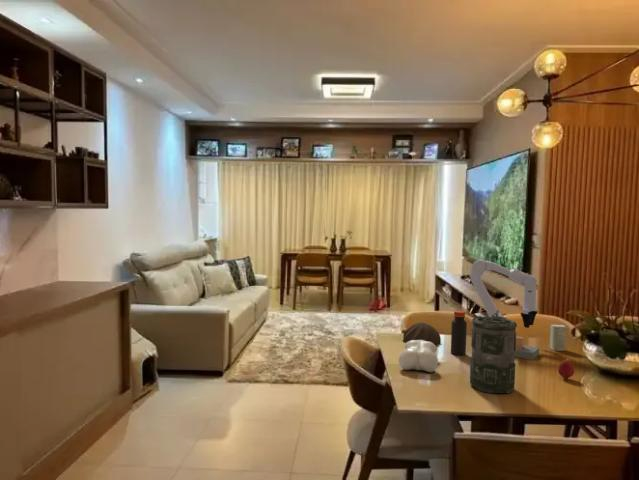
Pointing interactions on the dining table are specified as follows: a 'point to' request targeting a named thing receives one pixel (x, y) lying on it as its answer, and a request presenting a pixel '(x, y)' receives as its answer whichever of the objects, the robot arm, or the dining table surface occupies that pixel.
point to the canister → (493, 354)
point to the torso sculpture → (419, 356)
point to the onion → (566, 369)
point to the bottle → (458, 334)
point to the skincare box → (558, 337)
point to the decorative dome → (422, 333)
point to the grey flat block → (527, 352)
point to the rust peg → (519, 342)
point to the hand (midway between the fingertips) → (528, 326)
